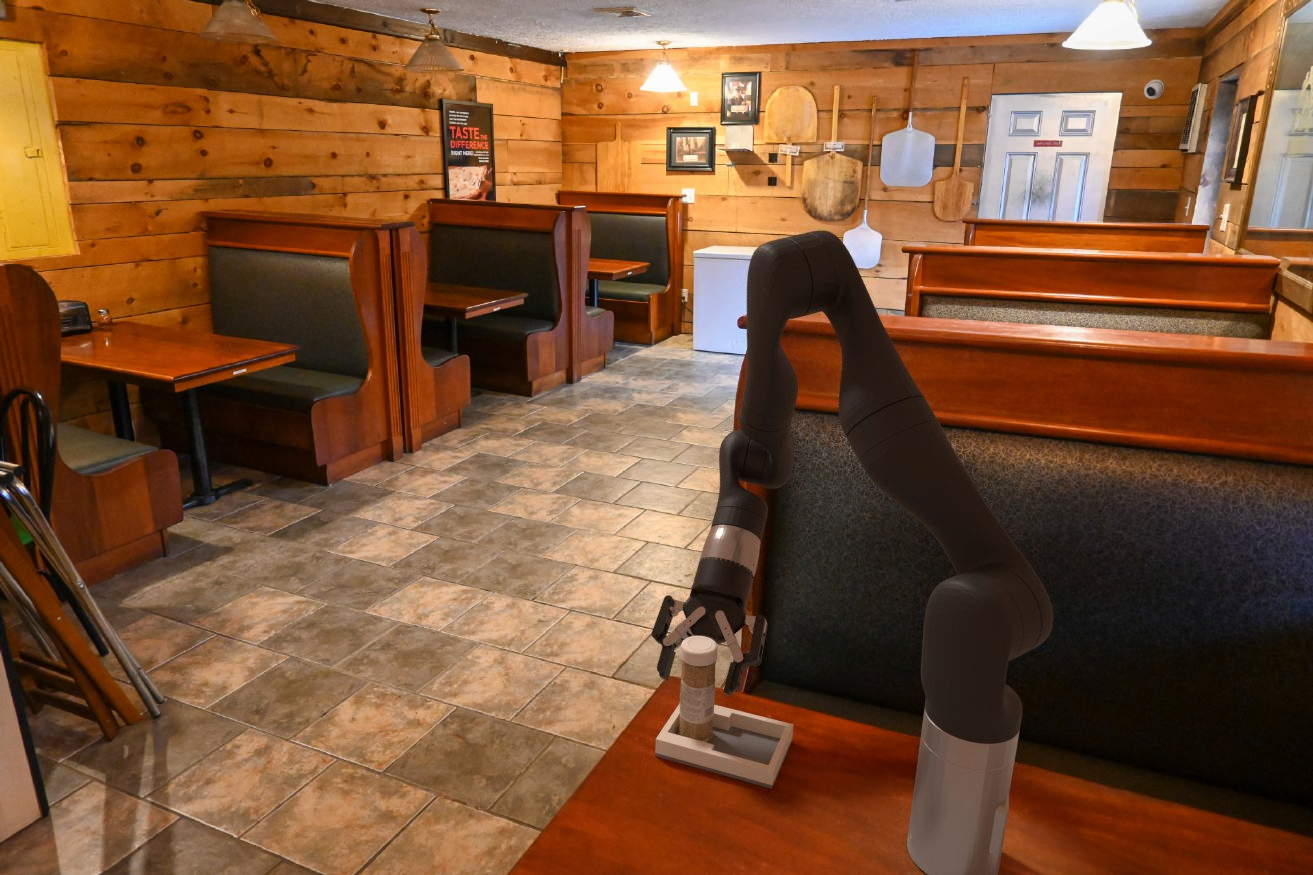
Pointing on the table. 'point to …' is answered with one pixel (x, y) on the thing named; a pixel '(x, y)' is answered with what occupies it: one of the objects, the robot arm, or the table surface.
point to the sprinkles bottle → (697, 688)
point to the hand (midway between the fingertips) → (695, 686)
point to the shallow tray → (731, 746)
